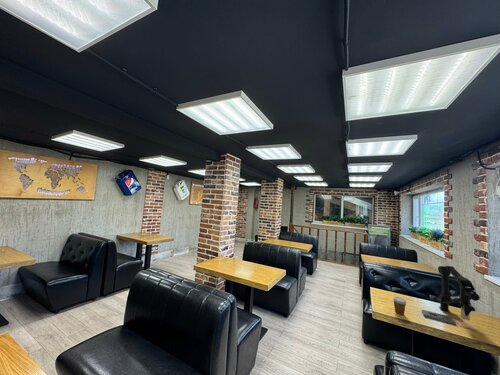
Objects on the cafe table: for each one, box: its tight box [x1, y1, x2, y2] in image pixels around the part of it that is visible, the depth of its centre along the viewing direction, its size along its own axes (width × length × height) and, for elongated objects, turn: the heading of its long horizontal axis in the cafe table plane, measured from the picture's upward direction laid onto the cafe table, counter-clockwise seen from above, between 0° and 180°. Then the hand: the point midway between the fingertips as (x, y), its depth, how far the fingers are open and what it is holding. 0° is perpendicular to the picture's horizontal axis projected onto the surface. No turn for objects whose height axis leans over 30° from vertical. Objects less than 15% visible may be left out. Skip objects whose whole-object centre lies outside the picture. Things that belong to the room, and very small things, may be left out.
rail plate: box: [421, 309, 457, 326], centre depth 175 cm, size 10×20×2 cm, turn 60°
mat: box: [454, 319, 478, 331], centre depth 166 cm, size 10×10×1 cm
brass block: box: [460, 306, 471, 321], centre depth 167 cm, size 4×4×8 cm
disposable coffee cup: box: [392, 296, 407, 316], centre depth 179 cm, size 10×10×12 cm
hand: (465, 314), depth 167 cm, fingers closed on brass block, 4 cm apart
